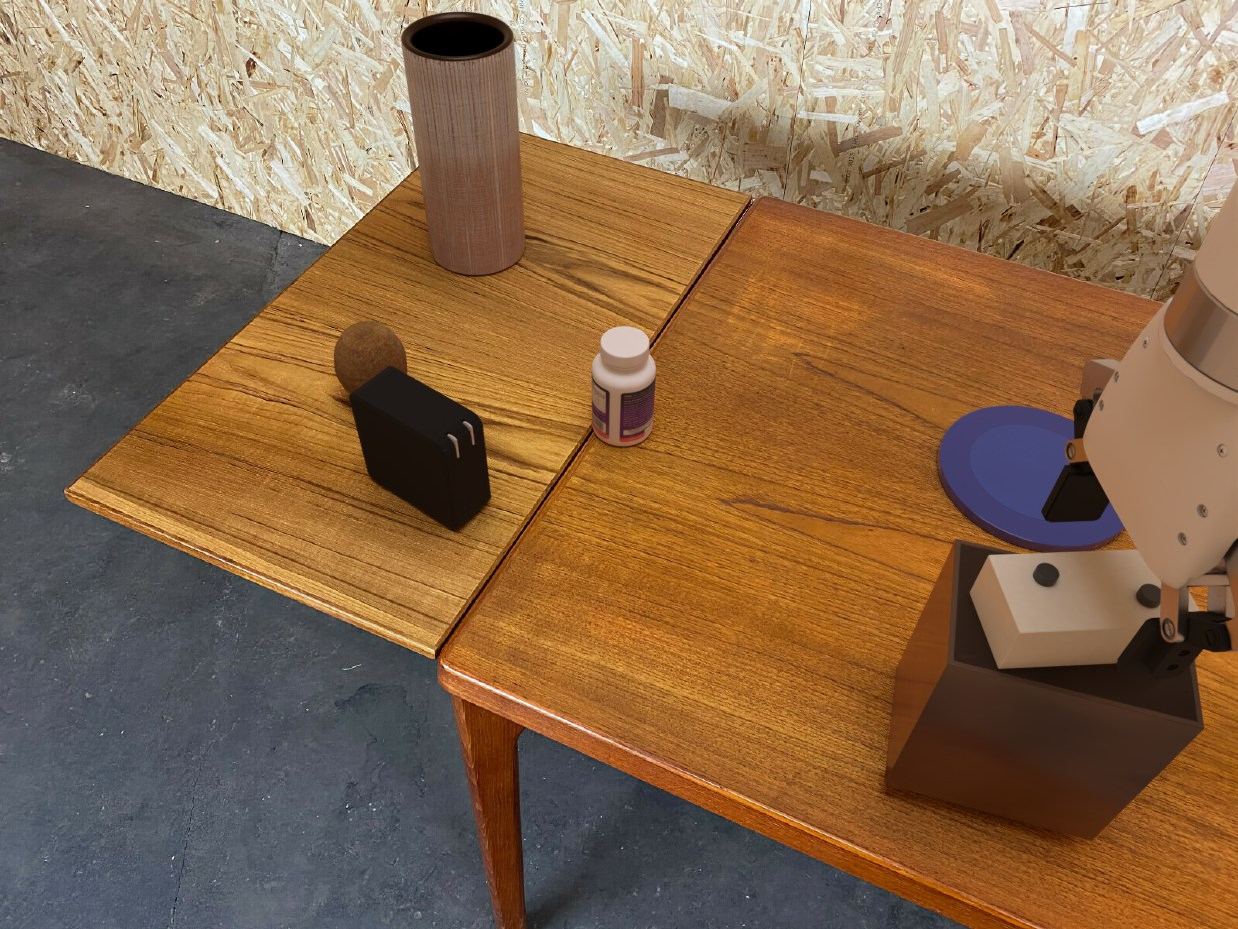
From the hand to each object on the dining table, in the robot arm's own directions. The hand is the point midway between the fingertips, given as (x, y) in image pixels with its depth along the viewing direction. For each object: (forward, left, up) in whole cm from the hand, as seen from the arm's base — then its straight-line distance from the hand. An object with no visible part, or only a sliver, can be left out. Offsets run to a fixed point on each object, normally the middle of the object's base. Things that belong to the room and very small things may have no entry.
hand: (1105, 588), depth 50 cm
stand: (0, 0, -19) cm, 19 cm away
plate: (-3, -27, -19) cm, 33 cm away
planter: (+54, -43, -20) cm, 72 cm away
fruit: (+54, -19, -20) cm, 61 cm away
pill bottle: (+32, -22, -20) cm, 44 cm away
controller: (0, 0, -4) cm, 4 cm away
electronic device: (+45, -10, -20) cm, 50 cm away
